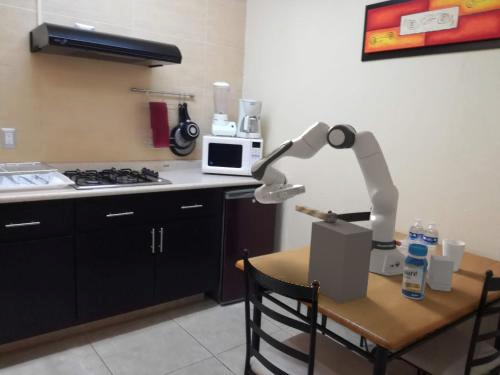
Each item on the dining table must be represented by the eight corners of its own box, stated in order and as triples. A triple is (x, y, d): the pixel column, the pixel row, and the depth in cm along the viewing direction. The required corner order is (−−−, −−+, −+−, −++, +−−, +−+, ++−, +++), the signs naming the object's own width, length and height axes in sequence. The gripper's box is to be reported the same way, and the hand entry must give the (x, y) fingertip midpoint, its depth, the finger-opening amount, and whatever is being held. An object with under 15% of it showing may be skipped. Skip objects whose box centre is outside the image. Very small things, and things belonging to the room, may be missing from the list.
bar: (293, 210, 170) (294, 203, 169) (301, 209, 172) (301, 202, 171) (328, 222, 151) (329, 214, 151) (336, 221, 154) (337, 213, 153)
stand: (307, 285, 157) (312, 222, 152) (333, 279, 164) (338, 218, 160) (339, 303, 142) (345, 234, 137) (366, 296, 149) (373, 230, 145)
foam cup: (464, 269, 182) (468, 242, 180) (458, 274, 176) (462, 246, 173) (442, 263, 189) (446, 237, 186) (436, 268, 182) (439, 241, 180)
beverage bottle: (429, 299, 149) (435, 248, 145) (410, 301, 146) (416, 250, 143) (414, 289, 157) (420, 241, 153) (396, 291, 154) (401, 242, 151)
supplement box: (450, 292, 156) (454, 261, 154) (430, 289, 158) (434, 259, 156) (445, 284, 164) (449, 255, 161) (426, 282, 165) (430, 253, 163)
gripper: (258, 191, 180) (275, 189, 168) (292, 183, 191) (311, 181, 179) (260, 204, 180) (278, 203, 168) (295, 196, 191) (314, 194, 179)
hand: (295, 192), depth 174 cm, fingers open, 8 cm apart
